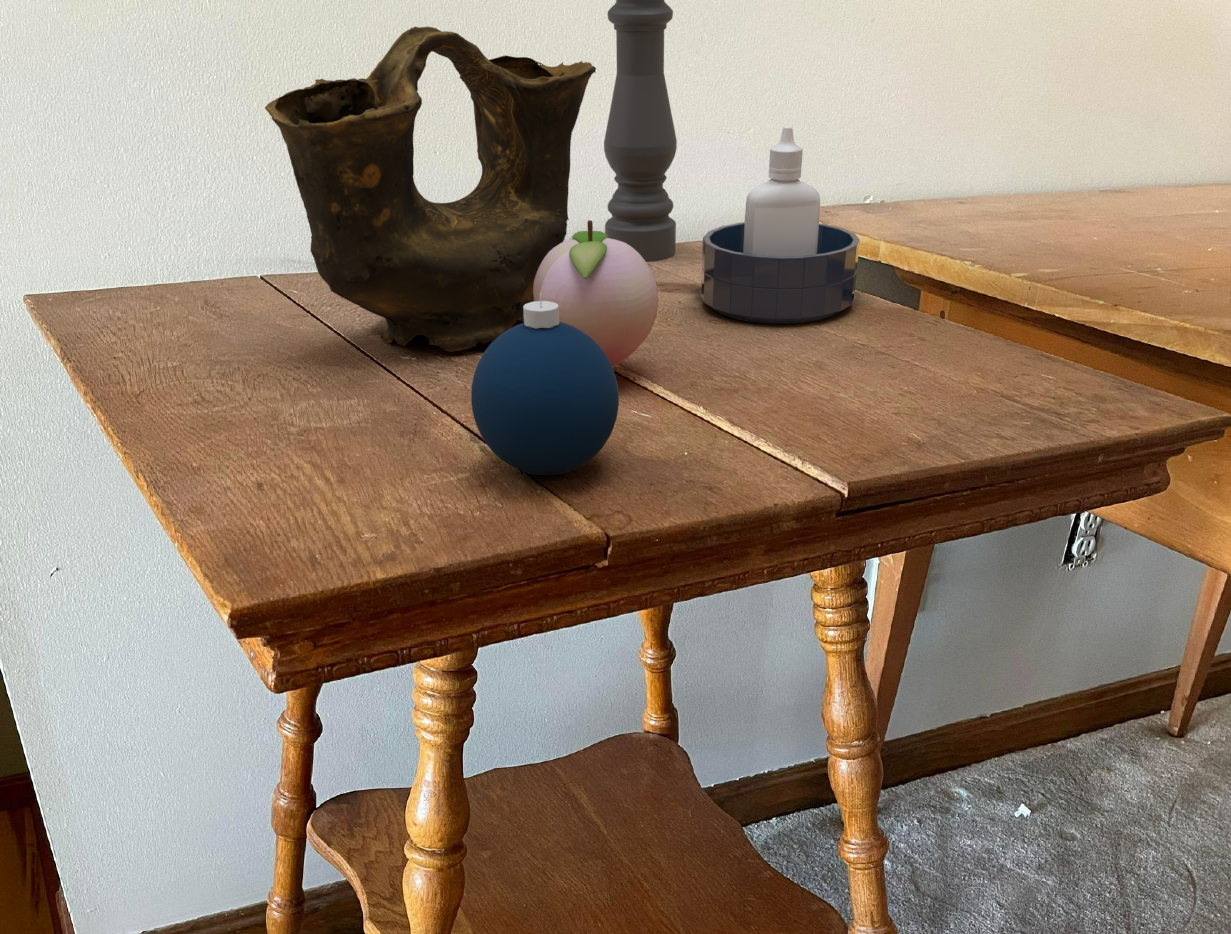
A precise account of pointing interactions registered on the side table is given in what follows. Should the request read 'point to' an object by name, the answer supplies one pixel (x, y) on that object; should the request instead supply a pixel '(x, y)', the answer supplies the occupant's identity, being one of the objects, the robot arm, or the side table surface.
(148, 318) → the side table surface
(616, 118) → the candle holder
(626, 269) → the decorative fruit
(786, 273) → the bowl
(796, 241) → the eye dropper bottle
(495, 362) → the christmas ornament
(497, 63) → the pottery vessel
